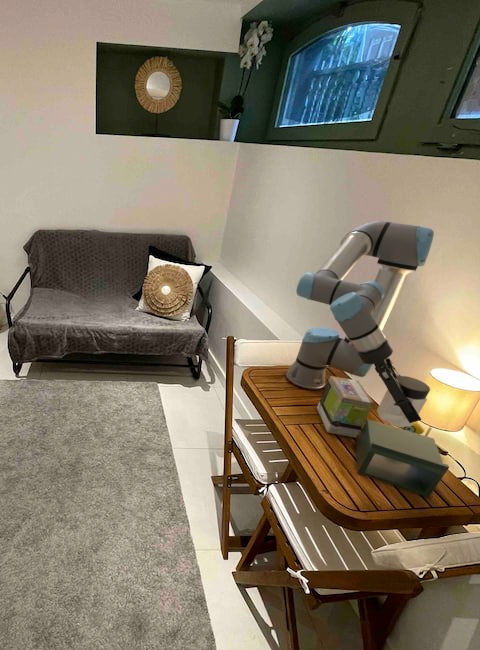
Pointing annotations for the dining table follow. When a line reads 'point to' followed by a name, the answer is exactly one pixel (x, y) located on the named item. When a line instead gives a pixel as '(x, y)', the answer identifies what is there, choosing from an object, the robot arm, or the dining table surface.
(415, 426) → the duckling
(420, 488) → the shelf
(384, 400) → the jar
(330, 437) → the dining table surface
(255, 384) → the dining table surface
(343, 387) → the tea box
